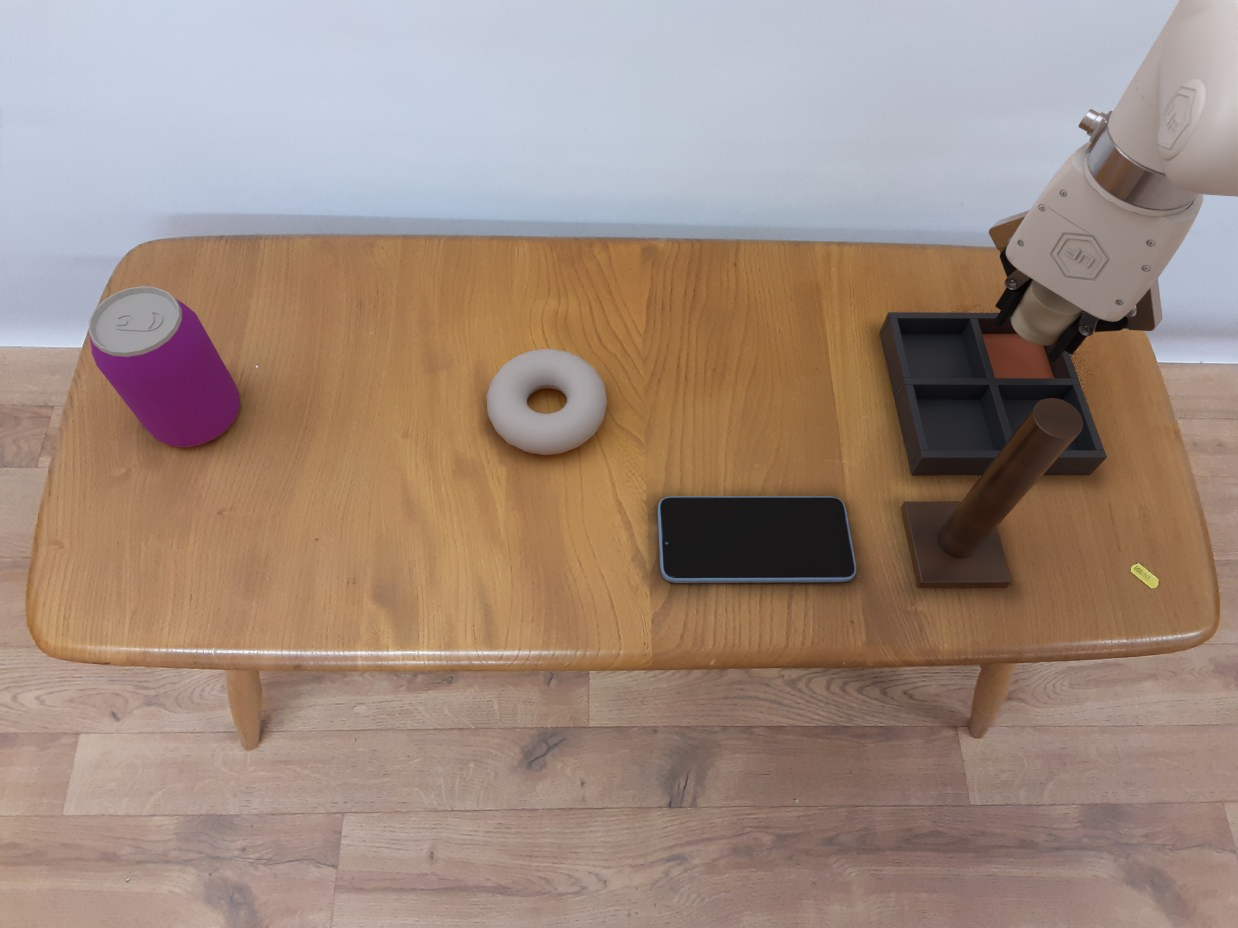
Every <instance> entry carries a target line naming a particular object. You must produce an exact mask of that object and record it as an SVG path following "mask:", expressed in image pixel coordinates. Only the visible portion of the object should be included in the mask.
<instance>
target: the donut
mask: <svg viewBox="0 0 1238 928" xmlns="http://www.w3.org/2000/svg"><path fill="white" fill-rule="evenodd" d="M545 389H550V390H551V389H552V390H556V391H558V392H561V393H562V394H563V395H564V396H565V399H566V403H565V405H564V406H563V407H562V408H561V409H559V410H557V411H554V412H550V413H542V412H538V411H536V410H533V409H532V408H531V407H530V406H529V405H528V400H529V397H530V396H531V395H532V394H534V393H535V392H536V391H540V390H545ZM485 401H486V411H487V417H488V418H489V420H490V422H491V424H492V426H493V428H494V430H495V432H496V433H497V434H498V435H499V436H500V437H501V438H502V439H503V440H504V441H505V442H506V443H507V444H509V445H511V446H513V447H515V448H517V449H519V450H521V451H523V452H525V453H529V454H534V455H535V454H536V455H541V456H549V455H558V454H559V455H560V454H564V453H566V452H569V451H572V450H575V449H576V448H579V447H580V446H582V445H583V444H584V443H586V442H587V441H588V440H589V439H592V437H593V436H594V435H595V434H596V432H597V431H598V430H599V428H600V427H601V425H602V424H603V422H604V420H605V416H606V411H607V406H608V398H607V391H606V386H605V383H604V381H603V379H602V378H601V375H599V373H598V371H597V370H596V369H595V368H594V367H593V366H592V365H591V364H590V363H588V362H587V361H586V360H585V359H583V358H582V357H580V356H579V355H576V354H573V353H572V352H569V351H567V350H561V349H555V348H543V349H542V348H541V349H532V350H528V351H526V352H524V353H521V354H517V355H516V356H514V357H513V358H511V359H510V360H509V361H507V362H505V363H504V364H503V365H502V366H501V367H500V368H499V370H497V372H496V373H495V375H494V376H493V378H492V379H491V380H490V384H489V387H488V389H487V394H486V400H485Z"/></svg>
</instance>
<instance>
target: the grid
mask: <svg viewBox="0 0 1238 928" xmlns="http://www.w3.org/2000/svg"><path fill="white" fill-rule="evenodd" d="M998 314H999V312H942V311H941V312H936V311H935V312H933V311H932V312H929V311H926V312H925V311H924V312H922V311H921V312H915V311H913V312H912V311H906V312H905V311H903V312H902V311H898V312H897V311H889V312H887V313H886V316H885V318H884V321H883V323H882V325H881V327H880V330H879V332H878V333H879V337H880V342H881V347H882V350H883V355H884V358H885V359H884V360H885V364H886V368H887V373H888V378H889V381H890V385H891V390H892V395H893V399H894V405H895V407H896V414H897V417H898V422H899V425H900V431H901V434H902V440H903V444H904V448H905V451H906V452H905V453H906V457H907V461H908V466H909V471H910V473H911V474H910V475H911V476H981V475H982V474H983V473H984V472H985V470H986V469H987V468H988V466H989V465H990V464H991V462H992V461H993V460H994V458H995V457H996V456H997V455H998V453H999V452H1000V451H1001V449H1002V448H1003V447H1004V445H1005V444H1006V443H1007V442H1008V440H1009V439H1010V438H1011V436H1012V435H1013V434H1014V432H1015V431H1016V430H1017V429H1018V427H1019V426H1020V425H1021V423H1022V422H1023V421H1024V419H1025V418H1026V417H1027V415H1028V414H1029V413H1030V412H1031V410H1032V409H1033V408H1034V406H1035V405H1036V404H1037V403H1038V402H1039V401H1041V400H1044V399H1048V398H1055V399H1060V400H1063V401H1065V402H1067V403H1069V404H1071V405H1072V406H1073V407H1074V408H1075V409H1076V410H1077V411H1078V412H1079V414H1080V415H1081V418H1082V421H1083V427H1082V430H1081V432H1080V433H1079V434H1078V436H1077V437H1076V438H1075V439H1074V440H1073V441H1072V442H1071V443H1070V445H1069V446H1068V447H1067V448H1066V449H1065V450H1064V451H1063V453H1062V454H1061V455H1060V456H1059V457H1058V458H1057V459H1056V460H1055V462H1054V463H1053V464H1052V465H1051V466H1050V467H1049V468H1048V469H1047V471H1046V472H1045V473H1044V474H1043V475H1042V476H1057V475H1058V476H1089V475H1090V476H1091V475H1092V473H1094V471H1095V470H1097V469H1098V468H1099V466H1101V465H1102V464H1103V463H1104V461H1105V460H1106V459H1108V455H1107V453H1106V450H1105V448H1104V445H1103V442H1102V439H1101V436H1100V433H1099V431H1098V429H1097V425H1096V423H1095V420H1094V417H1093V415H1092V412H1091V409H1090V406H1089V403H1088V401H1087V398H1086V396H1085V392H1084V390H1083V387H1082V385H1081V384H1082V383H1081V382H1080V379H1079V375H1078V372H1077V369H1076V368H1075V365H1074V362H1073V358H1072V355H1071V354H1069V353H1068V352H1066V351H1064V352H1063V353H1062V355H1061V356H1060V357H1059V358H1058V359H1057V360H1056V361H1055V362H1053V361H1051V360H1049V358H1050V357H1048V356H1049V354H1050V353H1051V351H1052V350H1053V349H1054V347H1055V346H1056V345H1057V343H1056V344H1054V345H1047V346H1044V345H1037V344H1034V343H1031V342H1029V341H1027V340H1025V339H1023V338H1022V337H1021V336H1020V335H1019V334H1018V333H1017V332H1016V331H1015V330H1014V328H1013V326H1012V324H1011V317H1010V318H1009V319H1008V320H1007V321H1006V322H1005V323H1004V324H1003V325H1002V326H1000V325H999V326H997V325H995V324H993V322H994V320H995V319H996V317H997V316H998Z"/></svg>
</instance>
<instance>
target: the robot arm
mask: <svg viewBox="0 0 1238 928" xmlns="http://www.w3.org/2000/svg"><path fill="white" fill-rule="evenodd" d="M1078 128H1079V129H1081V130H1082V131H1085V132H1086V135H1087V136H1089V139H1088V142H1085V143H1084V144H1083V145H1081V146H1080V147H1078V148H1077V149H1076V150H1075V151H1074V152H1073V153H1072V154H1071V155H1070V156H1069V157H1068V158H1067V159H1066V160H1065V161H1064V163H1063V164H1062V165H1061V166H1060V167H1059V169H1058V170H1057V171H1056V172H1055V173H1054V175H1053V176H1052V177H1051V179H1050V180H1049V181H1048V183H1047V184H1046V185H1045V187H1044V188H1043V190H1042V191H1041V193H1040V194H1039V196H1038V197H1037V199H1036V200H1035V201H1034V203H1033V204H1032V206H1030V207H1031V208H1030V209H1028V210H1026V211H1025V210H1024V211H1021V212H1020V213H1016V214H1013V215H1011V216H1008V217H1004V218H1002V219H999V220H998V221H996V222H995V224H993V225H992V226H991V227H990V228H989V229H988V235H989V237H990V239H991V240H992V242H993V244H994V246H995V248H996V250H997V251H999V260H1000V262H1001V265H1002V267H1003V270H1004V274H1005V275H1006V278H1005V280H1004V286H1005V287H1006V288H1004V290H1003V292H1002V294H1001V295H1000V297H999V299H998V300H997V302H996V304H995V305H994V307H995V308H996V309H998V310H999V312H998V313H999V314H998V316H997V317H996V319H995V320H994V322H993V324H995V325H997V326H999V325H1000V326H1002V325H1003V324H1004V323H1005V322H1006V321H1007V320H1008V319H1009V318H1010V317H1011V314H1012V312H1013V310H1014V308H1015V307H1016V305H1017V304H1018V302H1019V301H1020V299H1021V297H1022V296H1023V294H1024V293H1025V291H1026V289H1027V288H1028V286H1029V285H1030V283H1031V281H1032V280H1035V281H1037V282H1038V283H1040V284H1041V285H1043V286H1045V287H1046V288H1048V289H1050V290H1051V291H1053V292H1055V293H1056V294H1058V295H1059V296H1061V297H1063V298H1064V299H1066V300H1068V301H1069V302H1071V303H1073V304H1074V305H1076V306H1077V307H1079V308H1081V309H1082V310H1084V311H1083V313H1082V314H1081V315H1080V317H1079V318H1078V319H1077V320H1076V321H1075V322H1074V323H1073V324H1072V325H1071V326H1070V327H1069V329H1068V330H1067V331H1066V332H1065V334H1064V335H1063V336H1062V338H1061V339H1060V341H1059V342H1058V343H1057V345H1056V346H1055V347H1054V349H1053V350H1052V351H1051V353H1050V354H1049V356H1048V357H1050V358H1049V360H1051V361H1053V362H1055V361H1056V360H1057V359H1058V358H1059V357H1060V356H1061V355H1062V353H1063V352H1064V351H1066V352H1068V353H1069V354H1070V356H1073V355H1074V353H1076V351H1077V350H1078V349H1079V348H1080V346H1081V345H1082V344H1083V343H1084V341H1085V340H1086V339H1087V338H1088V337H1091V336H1092V335H1093V334H1094V333H1104V332H1105V333H1106V332H1119V331H1122V330H1126V329H1127V330H1128V331H1137V332H1138V331H1139V332H1153V331H1154V330H1155V329H1156V328H1157V327H1158V326H1159V324H1160V323H1161V322H1162V320H1163V309H1162V301H1161V294H1160V285H1159V277H1160V276H1161V275H1162V273H1163V272H1164V271H1165V269H1166V268H1167V266H1168V265H1169V263H1170V262H1171V261H1172V259H1173V258H1174V256H1175V255H1176V253H1177V251H1178V250H1179V248H1180V247H1181V245H1182V244H1183V242H1184V241H1185V239H1186V237H1187V235H1189V232H1190V230H1191V228H1192V227H1193V225H1194V223H1195V220H1196V218H1197V217H1198V214H1200V213H1199V212H1200V210H1201V208H1202V207H1203V206H1202V205H1203V203H1204V195H1205V196H1219V197H1220V196H1221V197H1238V0H1178V2H1177V4H1176V6H1175V7H1174V9H1173V10H1172V12H1171V14H1170V15H1169V17H1168V19H1167V21H1166V22H1165V23H1164V26H1163V27H1162V29H1161V31H1160V32H1159V34H1158V36H1157V38H1156V39H1155V41H1154V42H1153V43H1152V45H1151V47H1150V49H1149V51H1148V52H1147V54H1146V55H1145V57H1144V59H1143V61H1142V62H1141V64H1140V66H1139V67H1138V69H1137V71H1136V72H1135V74H1134V75H1133V77H1132V79H1131V80H1130V82H1129V83H1128V85H1127V87H1126V89H1125V90H1124V92H1123V93H1122V95H1121V97H1120V99H1119V101H1118V102H1117V104H1116V105H1115V107H1114V109H1113V110H1109V111H1108V112H1107V113H1106V112H1103V111H1102V112H1099V111H1096V110H1094V109H1092V108H1090V109H1088V111H1087V112H1086V113H1085V115H1084V116H1083V117H1082V119H1081V121H1080V122H1079V124H1078Z"/></svg>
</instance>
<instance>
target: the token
mask: <svg viewBox="0 0 1238 928" xmlns="http://www.w3.org/2000/svg"><path fill="white" fill-rule="evenodd" d="M1083 311H1084V310H1082V309H1081V308H1079V307H1077V306H1076V305H1074V304H1073V303H1071V302H1069V301H1068V300H1066V299H1064V298H1063V297H1061V296H1059V295H1058V294H1056V293H1055V292H1053V291H1051V290H1050V289H1048V288H1046V287H1045V286H1043V285H1041V284H1040V283H1038V282H1037V281H1035V280H1032V281H1031V283H1030V285H1029V286H1028V288H1027V289H1026V291H1025V293H1024V294H1023V296H1022V297H1021V299H1020V301H1019V302H1018V304H1017V305H1016V307H1015V308H1014V310H1013V312H1012V314H1011V324H1012V326H1013V328H1014V330H1015V331H1016V332H1017V333H1018V334H1019V335H1020V336H1021V337H1022V338H1023V339H1025V340H1027V341H1029V342H1031V343H1034V344H1037V345H1044V346H1047V345H1054V344H1056V343H1058V342H1059V341H1060V339H1061V338H1062V336H1063V335H1064V334H1065V332H1066V331H1067V330H1068V329H1069V327H1070V326H1071V325H1072V324H1073V323H1074V322H1075V321H1076V320H1077V319H1078V318H1079V317H1080V315H1081V314H1082V313H1083Z"/></svg>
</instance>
